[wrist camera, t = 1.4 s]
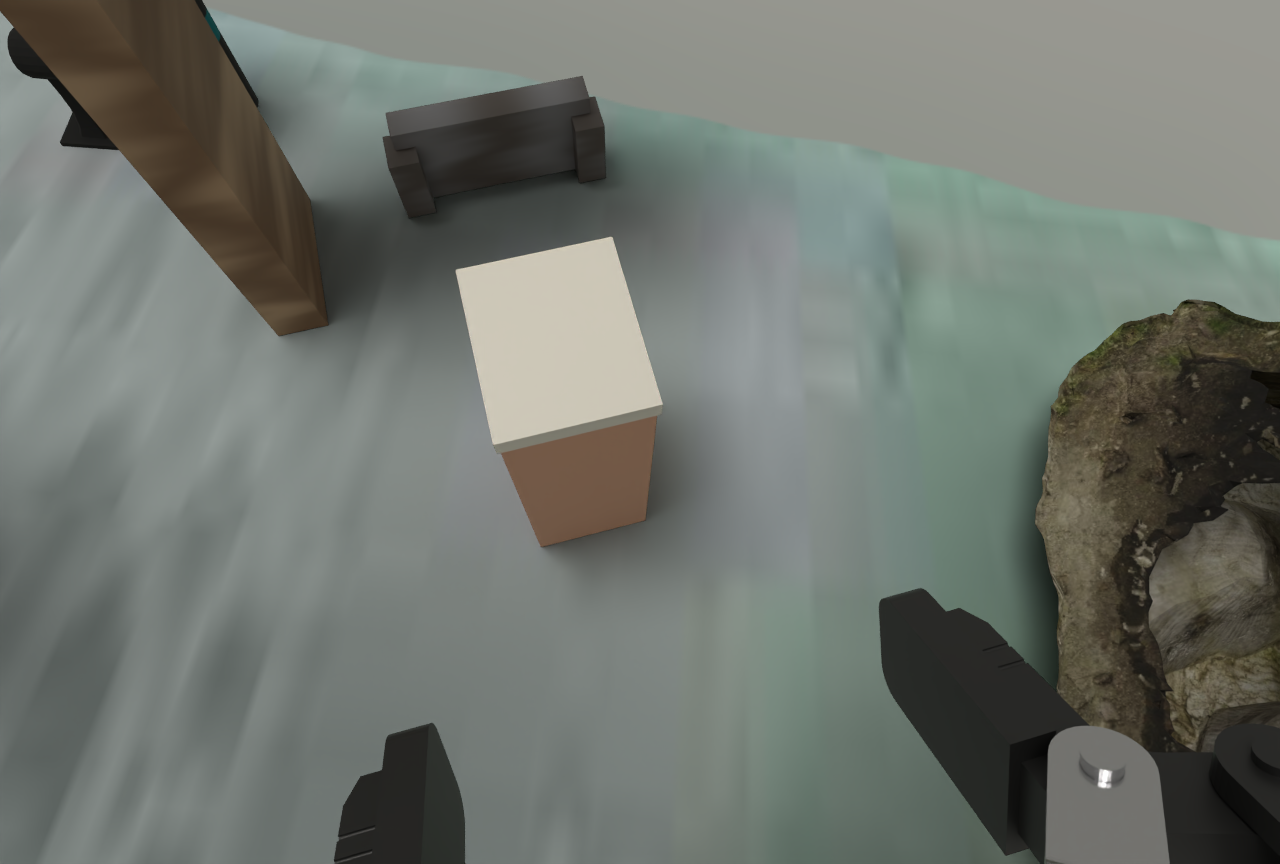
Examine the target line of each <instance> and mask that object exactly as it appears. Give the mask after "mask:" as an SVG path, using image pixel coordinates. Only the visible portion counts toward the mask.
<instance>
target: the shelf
mask: <svg viewBox="0 0 1280 864" xmlns="http://www.w3.org/2000/svg"><path fill="white" fill-rule="evenodd" d="M0 11H1V13H2V14H3V15H4V16H5V17H6V18H7V20H8V21H9V22H10V23H11V24H12V25H13V27H14V28H15V29H16V30H17V31H18V32H19V34H20V35H21V36H22V37H23V38H24V39H25V41H26V42H27V43H28V44H29V45H30V46H31V48H32V49H33V50H34V51H35V52H36V53H37V55H38V56H39V57H40V58H41V59H42V60H43V62H44V63H45V64H46V65H47V66H48V67H49V69H50V70H51V71H52V72H53V73H54V74H55V76H56V77H57V78H58V79H59V80H60V81H61V83H62V84H63V85H64V86H65V87H66V88H67V90H68V91H69V92H70V93H71V94H72V95H73V97H74V98H75V99H76V100H77V101H78V102H79V104H80V105H81V106H82V107H83V108H84V109H85V111H86V112H87V113H88V114H89V115H90V117H91V118H92V119H93V120H94V121H95V122H96V124H97V125H98V126H99V127H100V128H101V129H102V131H103V132H104V133H105V134H106V135H107V136H108V138H109V139H110V140H111V141H112V142H113V143H114V145H115V146H116V147H117V148H118V149H119V150H120V152H121V153H122V154H123V155H124V156H125V157H126V159H127V160H128V161H129V162H130V163H131V164H132V166H133V167H134V168H135V169H136V170H137V171H138V173H139V174H140V175H141V176H142V177H143V178H144V180H145V181H146V182H147V183H148V184H149V185H150V187H151V188H152V189H153V190H154V191H155V192H156V194H157V195H158V196H159V197H160V198H161V199H162V201H163V202H164V203H165V204H166V205H167V206H168V208H169V209H170V210H171V211H172V212H173V213H174V215H175V216H176V217H177V218H178V219H179V220H180V222H181V223H182V224H183V225H184V226H185V227H186V229H187V230H188V231H189V232H190V233H191V234H192V236H193V237H194V238H195V239H196V240H197V241H198V243H199V244H200V245H201V246H202V247H203V248H204V250H205V251H206V252H207V253H208V254H209V255H210V257H211V258H212V259H213V260H214V261H215V262H216V264H217V265H218V266H219V267H220V268H221V269H222V271H223V272H224V273H225V274H226V275H227V276H228V278H229V279H230V280H231V281H232V282H233V283H234V285H235V286H236V287H237V288H238V289H239V290H240V292H241V293H242V294H243V295H244V296H245V297H246V299H247V300H248V301H249V302H250V303H251V304H252V306H253V307H254V308H255V309H256V310H257V311H258V313H259V314H260V315H261V316H262V317H263V318H264V320H265V321H266V322H267V323H268V324H269V325H270V327H271V328H272V329H273V330H274V331H275V332H276V334H277V335H278V336H280V335H285V334H290V333H294V332H299V331H303V330H308V329H313V328H317V327H322V326H327V325H328V320H327V313H326V306H325V299H324V292H323V285H322V278H321V272H320V265H319V258H318V251H317V244H316V237H315V230H314V223H313V217H312V210H311V203H310V199H309V197H308V195H307V193H306V192H305V190H304V188H303V186H302V185H301V183H300V181H299V180H298V178H297V176H296V174H295V173H294V171H293V169H292V167H291V166H290V164H289V162H288V161H287V159H286V157H285V155H284V154H283V152H282V150H281V149H280V147H279V145H278V143H277V142H276V140H275V138H274V136H273V135H272V133H271V131H270V130H269V128H268V126H267V124H266V123H265V121H264V119H263V117H262V116H261V114H260V112H259V111H258V109H257V107H256V105H255V104H254V102H253V100H252V99H251V97H250V95H249V93H248V92H247V90H246V88H245V86H244V85H243V83H242V81H241V80H240V78H239V76H238V74H237V73H236V71H235V69H234V67H233V66H232V64H231V62H230V61H229V59H228V57H227V55H226V54H225V52H224V50H223V49H222V47H221V45H220V43H219V42H218V40H217V38H216V36H215V35H214V33H213V31H212V30H211V28H210V26H209V24H208V23H207V21H206V19H205V17H204V16H203V14H202V12H201V11H200V9H199V7H198V5H197V4H196V2H195V0H0ZM386 118H387V123H388V128H389V133H390V136H386V137H383V142H384V147H385V152H386V158H387V163H388V168H389V171H390V173H391V176H392V178H393V180H394V183H395V185H396V188H397V190H398V193H399V195H400V198H401V200H402V202H403V205H404V207H405V210H406V212H407V215H408V217H409V218H411V217H416V216H421V215H426V214H431V213H436V208H435V203H434V199H433V198H434V197H439V196H444V195H449V194H454V193H459V192H463V191H468V190H473V189H478V188H483V187H488V186H493V185H498V184H503V183H508V182H513V181H518V180H523V179H528V178H533V177H538V176H543V175H548V174H553V173H558V172H563V171H568V170H573V169H576V173H577V176H578V179H579V183H583V182H588V181H593V180H598V179H602V178H606V167H605V130H604V123H603V120H602V117H601V114H600V111H599V108H598V104H597V101H596V98H595V97H589V95H588V92H587V89H586V86H585V83H584V79H583V76H580V77H575V78H570V79H564V80H558V81H553V82H548V83H542V84H537V85H532V86H526V87H521V88H516V89H511V90H505V91H500V92H495V93H489V94H484V95H479V96H473V97H468V98H463V99H457V100H452V101H447V102H441V103H436V104H431V105H425V106H420V107H415V108H409V109H404V110H399V111H393V112H388V113H386Z"/></svg>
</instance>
